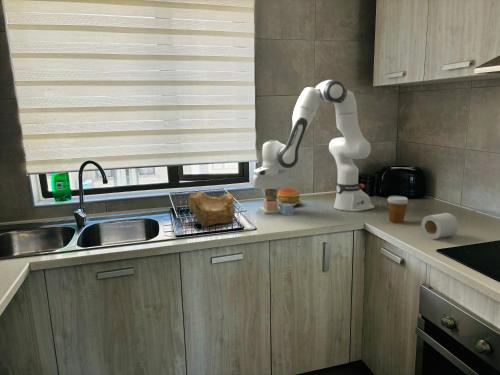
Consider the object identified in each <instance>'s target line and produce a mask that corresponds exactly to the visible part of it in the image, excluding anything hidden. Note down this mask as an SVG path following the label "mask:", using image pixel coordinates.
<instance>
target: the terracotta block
mask: <svg viewBox="0 0 500 375" xmlns="http://www.w3.org/2000/svg"><path fill="white" fill-rule="evenodd" d="M277 200H278V199H272V200H268V199H266V198H264V199H263V207H264V209H266V210H267V211H270V210H278V208H279V204H278V201H277Z"/></svg>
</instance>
